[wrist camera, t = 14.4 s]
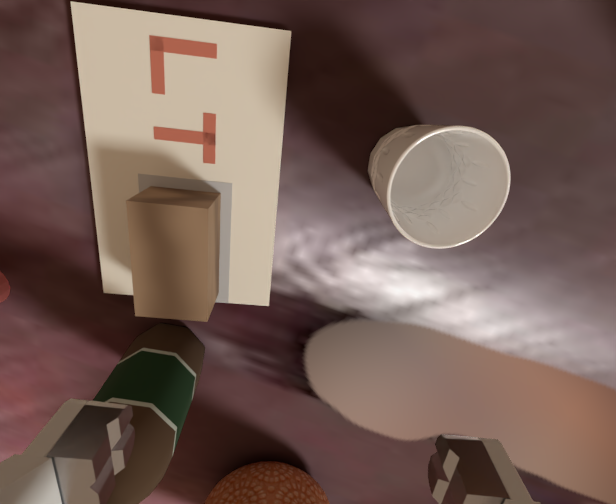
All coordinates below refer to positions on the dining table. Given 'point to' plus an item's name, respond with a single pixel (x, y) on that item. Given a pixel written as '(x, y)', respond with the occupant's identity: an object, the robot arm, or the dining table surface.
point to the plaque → (4, 287)
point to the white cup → (440, 182)
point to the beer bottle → (153, 403)
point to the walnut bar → (174, 252)
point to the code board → (184, 130)
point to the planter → (267, 486)
